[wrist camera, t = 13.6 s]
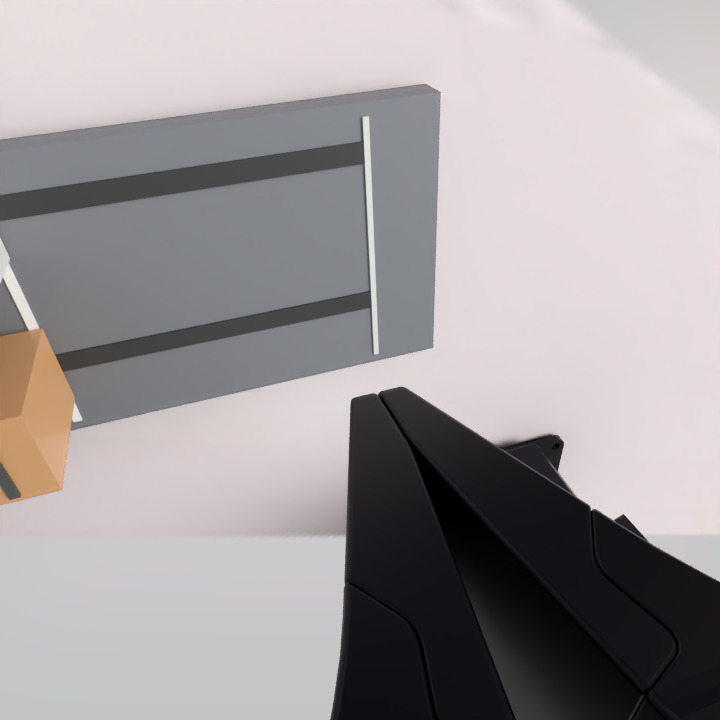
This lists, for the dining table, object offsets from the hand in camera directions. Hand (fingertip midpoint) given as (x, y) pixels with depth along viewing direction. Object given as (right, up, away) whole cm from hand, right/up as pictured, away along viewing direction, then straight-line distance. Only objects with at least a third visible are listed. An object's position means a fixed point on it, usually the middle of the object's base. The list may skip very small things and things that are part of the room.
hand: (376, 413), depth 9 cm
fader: (-12, 0, +11) cm, 16 cm away
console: (-7, +4, +11) cm, 14 cm away
